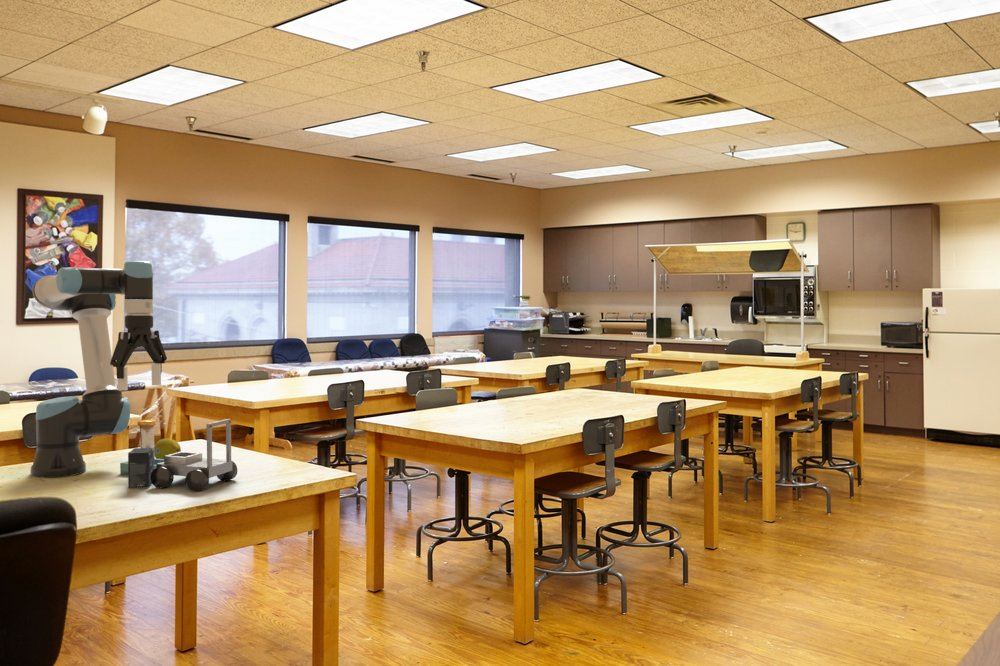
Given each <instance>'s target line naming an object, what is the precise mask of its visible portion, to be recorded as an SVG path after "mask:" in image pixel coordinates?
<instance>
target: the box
mask: <svg viewBox="0 0 1000 666" xmlns="http://www.w3.org/2000/svg"><path fill="white" fill-rule="evenodd" d="M127 461H128V475H127V480H128V481H127V485H128V486H127V488H128V489H130V490H131V489H133V490H135V489H149V488H150V486H151V485H153V484H152V482H151V478H150V477H151V473H152V471H153V470H154V448H140V447H134V448H133V449H132V450H131V451H129V452H128V453H127Z"/></svg>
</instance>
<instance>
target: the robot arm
mask: <svg viewBox="0 0 1000 666" xmlns="http://www.w3.org/2000/svg"><path fill="white" fill-rule="evenodd" d="M123 265H124V266H123V268H102V267H100V268H94V267H93V268H92V267H75V266H69V267H61V268H59V269H58V271H57V274H56V275H51V274H50V275H44V276H42V277H40V278H39V279H37V280H36V281H35V282H34V284H33V285H32V296H33V298H34V300H35V301H36V302H37V303H38V304H39V305H40V306H42V307H45V308H46V309H50V310H53V311H54V310H55V311H69V312H70V311H71V315H72V318H73V319H74V320H76V321H77V322H78V330H79V339H80V347H81V354H82V355H81V356H82V364H83V372H84V379H85V387H86V388H85V389H86V391H85V392H84V393H83V394H82V396H81V398H82V399H79V396H77V395H71V396H61V397H54V398H51V399H50V398H49V399H45V400H43V401H41V402H39V403H38V404H37V405H36V408H35V409H36V411H35V412H36V413H35V422H36V423H35V424H36V425H35V427H36V428H35V429H36V431H35V432H36V451H35V454H34V459H33V463H32V465H31V466H30V476H31V477H35V478H43V479H44V478H46V479H48V478H62V477H69V476H75V475H79V474H81V473H84V472H86V471H87V470H86V469H87V468H86V464H87V463H86V461H84V457H83V454H82V451H81V448H80V438H84V437H85V438H87V437H96V436H106V435H111V436H112V434H121V433H123V432H124V431H126V430H127V428H128V426H129V423H130V418H131V402H130V399H129V398H128V397H126V396H123V393H122V392H123V391H128V390H129V388H128V385H129V383H128V382H129V380H128V378H129V377H128V366H127V364H128V362H129V360H130V358H131V356H132V355H133V352H135V350H136V349H137V348H144V349H145V351H146V353H147V354H148V356H149V357H150V358H151V360H152V362H153V363H151V366H150V367H151V386H162V372H163V369H162V364H165V363H166V361H167V360H168V356H167V353H166V352H165V350H164V346H163V344H162V341H161V338H160V331H159V330H152V328H153V327H154V316H153V315H151V314H153V313H154V308H153V300H154V299H153V298H154V297H153V296H154V288H153V287H154V286H153V284H154V282H153V281H154V278H153V277H154V273H153V264H152V262H150V261H144V260H143V261H139V260H138V261H137V260H135V261H133V260H132V261H131V260H127V261H125V262H124V264H123ZM116 295H123V296H124V313H125V314H126V315H125V316H124V327H125V328H126V329H127V331H119V332H118V333H117V334H118V337H117V342H116V344H115V348H114V351H113V354H112V349H111V341H110V333H109V327H108V325H109V324H108V317H110V316H111V314H112V311H113V310H114V309H115V308H116V303H117V302H116V301H117V300H116V298H117V297H116ZM126 366H127V367H126ZM114 368H116V379H117V386H116V379H115V370H114Z"/></svg>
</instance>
